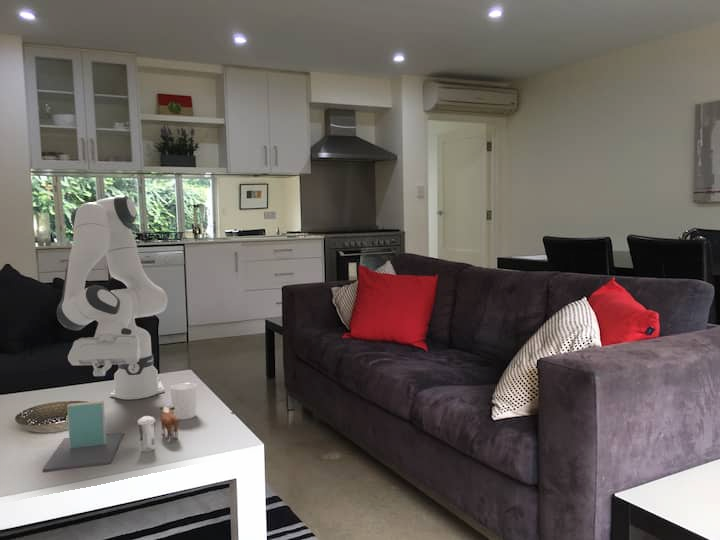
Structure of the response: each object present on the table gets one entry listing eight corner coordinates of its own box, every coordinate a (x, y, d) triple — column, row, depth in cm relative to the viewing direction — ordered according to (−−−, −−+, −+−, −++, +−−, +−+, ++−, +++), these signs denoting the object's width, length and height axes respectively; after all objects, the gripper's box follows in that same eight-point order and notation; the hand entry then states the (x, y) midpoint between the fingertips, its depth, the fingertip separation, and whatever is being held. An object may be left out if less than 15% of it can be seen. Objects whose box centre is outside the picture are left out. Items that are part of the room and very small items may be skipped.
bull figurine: (174, 427, 176) (173, 401, 175) (180, 442, 164) (179, 414, 163) (159, 430, 174) (157, 403, 173) (164, 445, 162) (163, 417, 161)
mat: (64, 440, 167) (64, 438, 167) (123, 434, 171) (123, 432, 171) (42, 471, 146) (42, 469, 146) (110, 463, 150) (110, 461, 150)
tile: (71, 445, 161) (68, 403, 160) (106, 442, 164) (103, 400, 163) (69, 448, 159) (67, 406, 158) (105, 444, 162) (102, 402, 161)
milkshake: (133, 449, 159) (131, 414, 158) (153, 445, 162) (151, 410, 161) (138, 455, 155) (136, 418, 155) (159, 449, 159) (157, 414, 158)
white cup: (190, 421, 181) (188, 389, 181) (167, 419, 183) (165, 388, 182) (202, 412, 189) (200, 382, 188) (179, 411, 191) (178, 382, 190)
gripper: (72, 331, 177) (58, 369, 167) (140, 330, 178) (130, 368, 169) (78, 344, 182) (65, 381, 172) (145, 342, 183) (136, 380, 173)
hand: (98, 375), depth 170 cm, fingers closed
